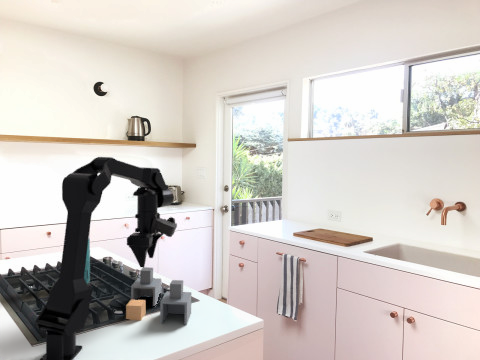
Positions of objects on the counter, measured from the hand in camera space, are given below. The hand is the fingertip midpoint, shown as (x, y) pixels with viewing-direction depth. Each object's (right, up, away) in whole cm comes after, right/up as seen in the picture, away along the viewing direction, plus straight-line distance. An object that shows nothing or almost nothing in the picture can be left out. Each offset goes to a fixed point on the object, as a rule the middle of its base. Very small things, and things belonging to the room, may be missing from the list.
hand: (146, 262), depth 108 cm
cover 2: (+10, -13, -9) cm, 19 cm away
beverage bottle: (-25, -11, +11) cm, 30 cm away
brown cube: (-1, -13, -9) cm, 16 cm away
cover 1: (0, -12, +1) cm, 12 cm away
